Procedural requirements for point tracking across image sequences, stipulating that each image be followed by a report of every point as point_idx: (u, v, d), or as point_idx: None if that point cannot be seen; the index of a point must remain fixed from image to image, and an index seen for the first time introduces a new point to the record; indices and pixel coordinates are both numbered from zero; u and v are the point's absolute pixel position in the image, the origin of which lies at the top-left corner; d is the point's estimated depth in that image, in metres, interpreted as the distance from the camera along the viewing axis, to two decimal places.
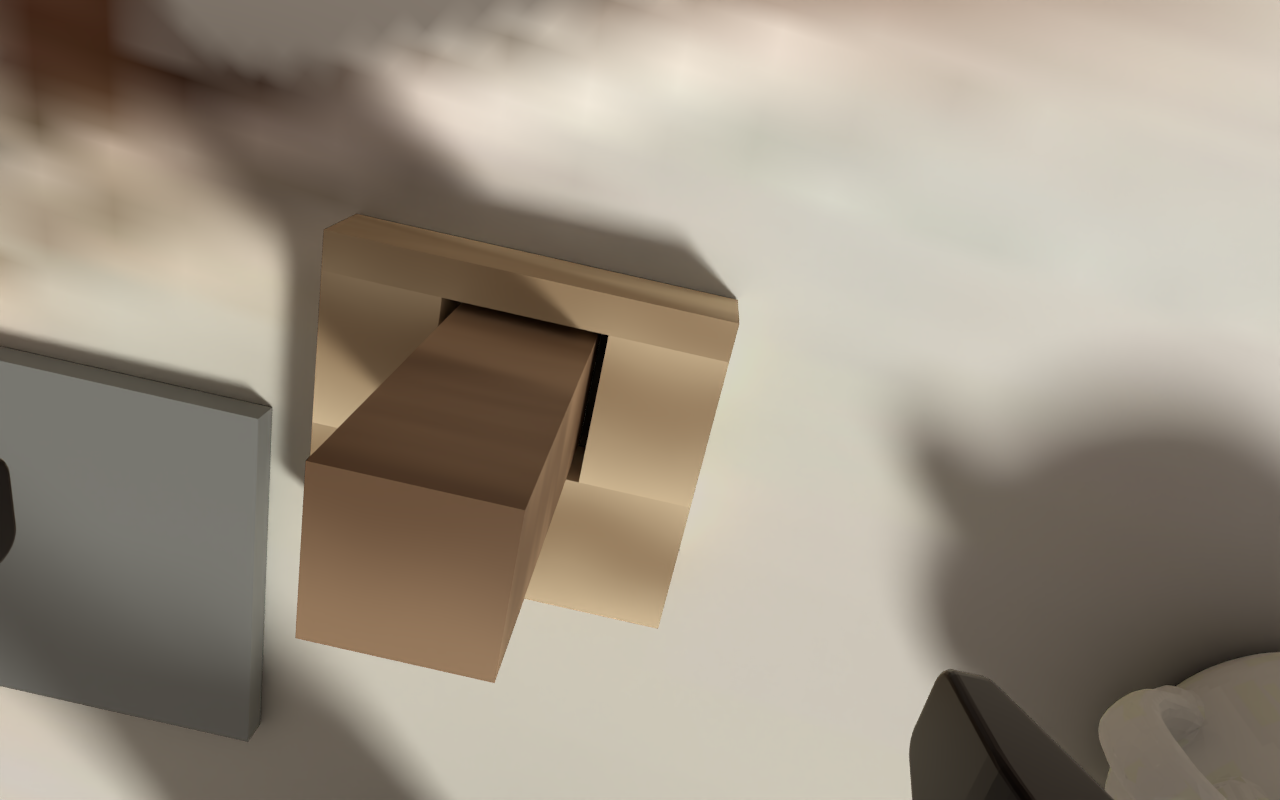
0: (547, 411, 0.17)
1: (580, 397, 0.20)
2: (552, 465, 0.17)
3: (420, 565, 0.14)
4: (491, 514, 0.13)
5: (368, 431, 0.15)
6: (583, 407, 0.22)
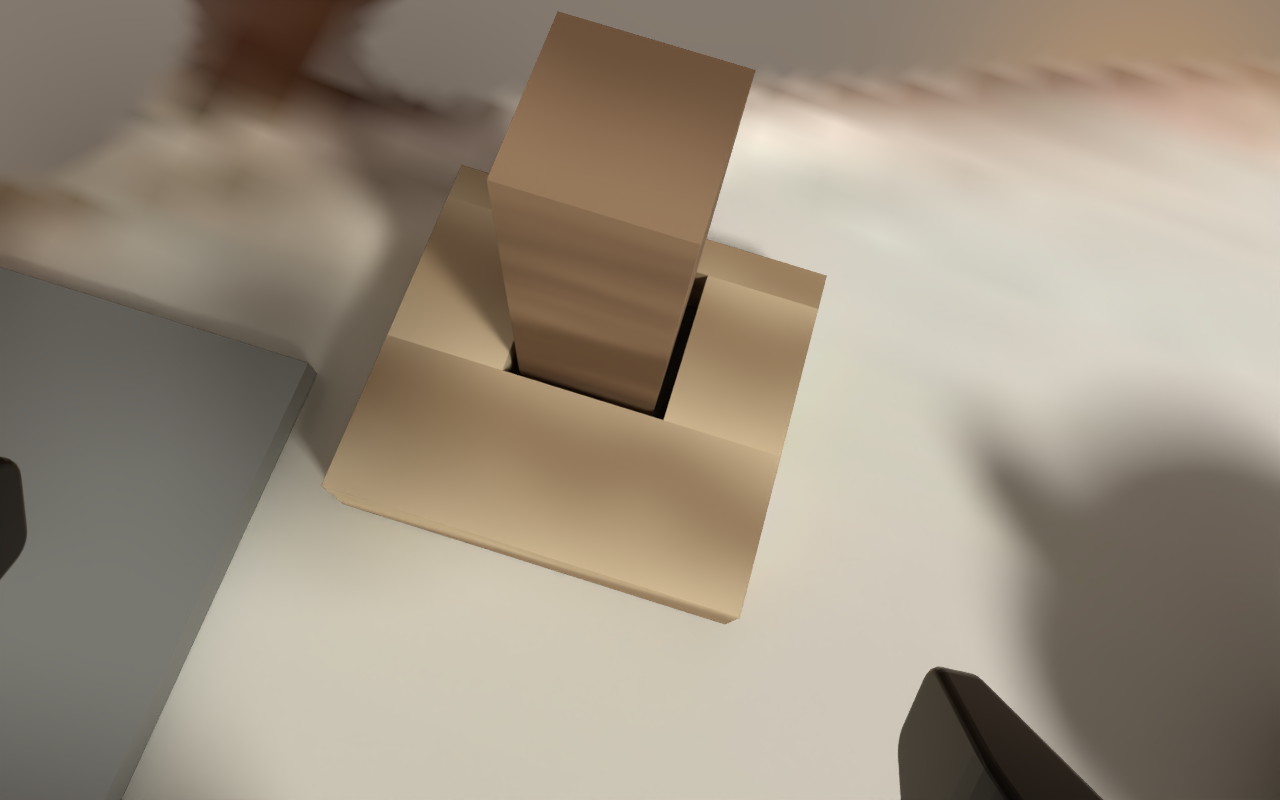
0: None
1: (687, 299, 0.21)
2: (714, 209, 0.17)
3: (644, 112, 0.14)
4: (723, 70, 0.14)
5: None
6: (669, 360, 0.22)
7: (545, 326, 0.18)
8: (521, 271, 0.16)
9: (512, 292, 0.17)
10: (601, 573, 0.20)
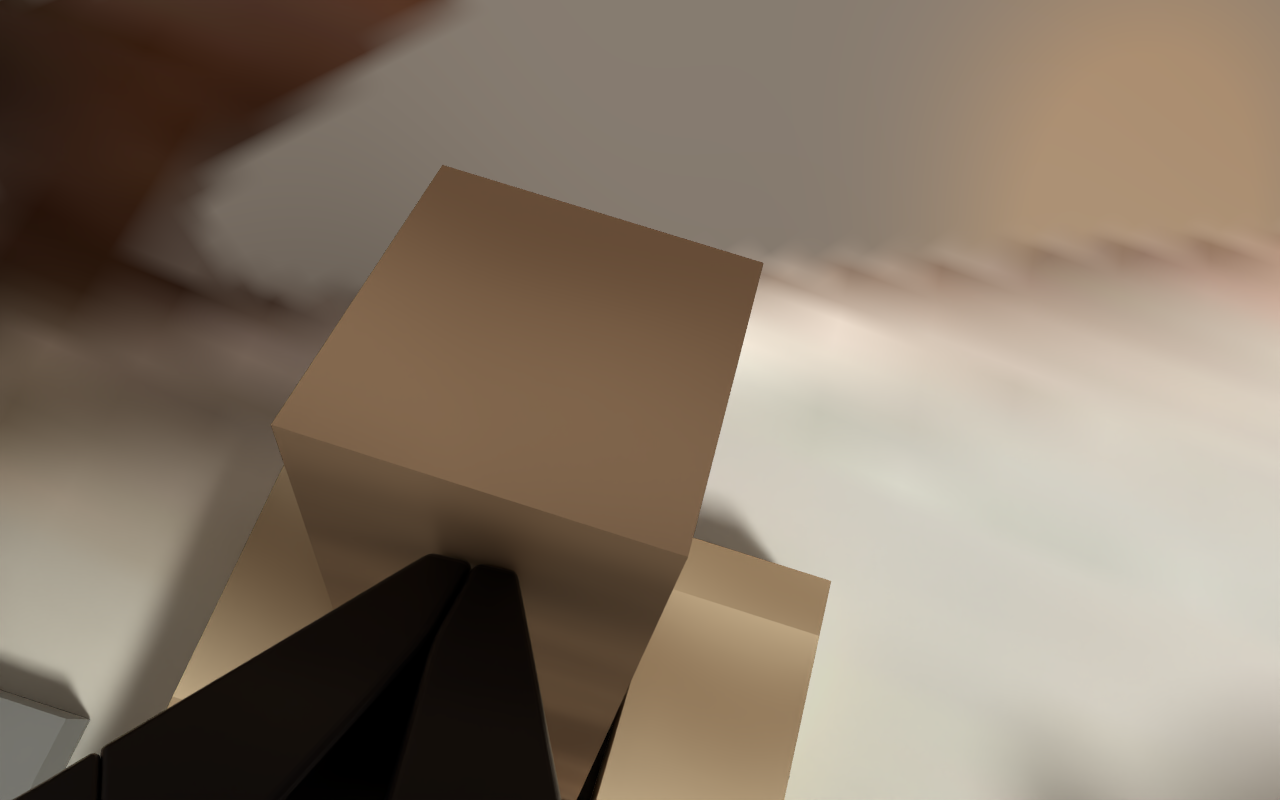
0: None
1: None
2: None
3: (582, 318, 0.08)
4: (712, 261, 0.09)
5: None
6: None
7: None
8: (356, 585, 0.09)
9: None
10: None
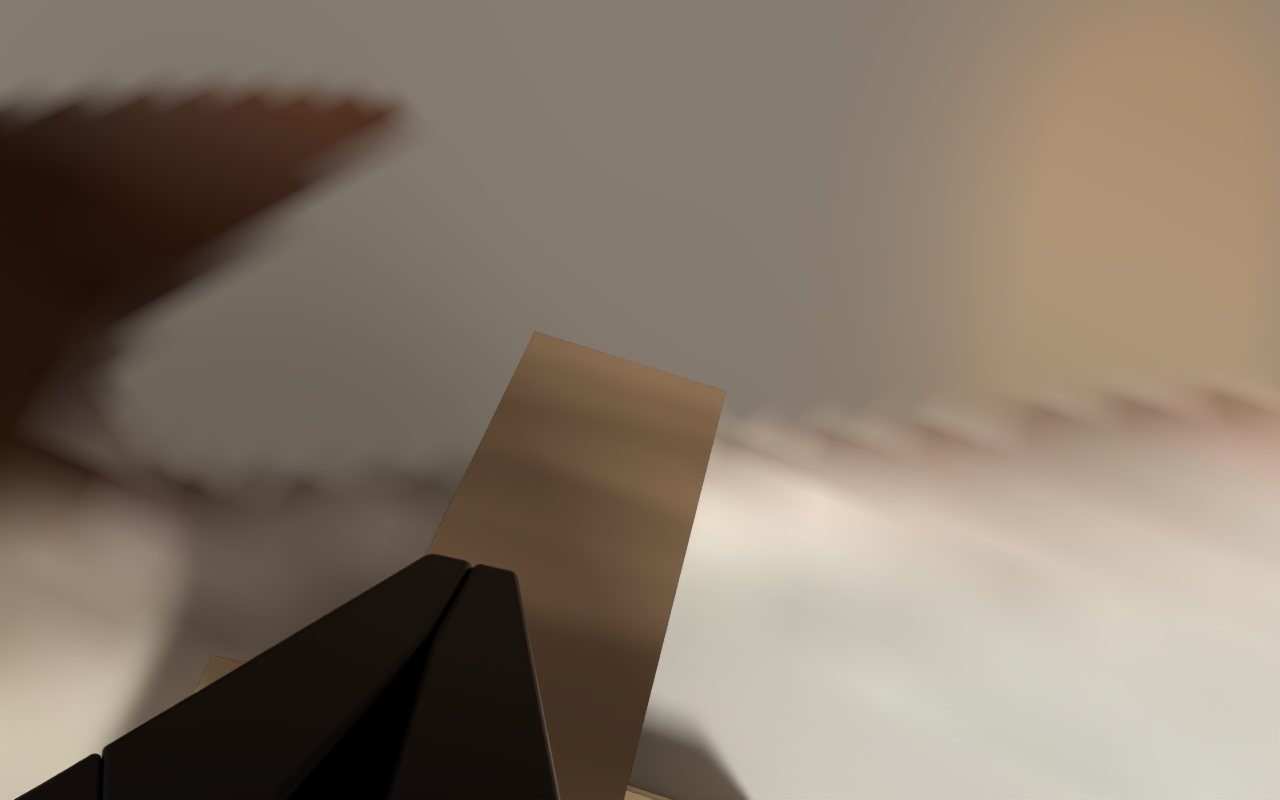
0: None
1: None
2: None
3: None
4: None
5: None
6: None
7: None
8: (498, 463, 0.13)
9: (457, 513, 0.12)
10: None
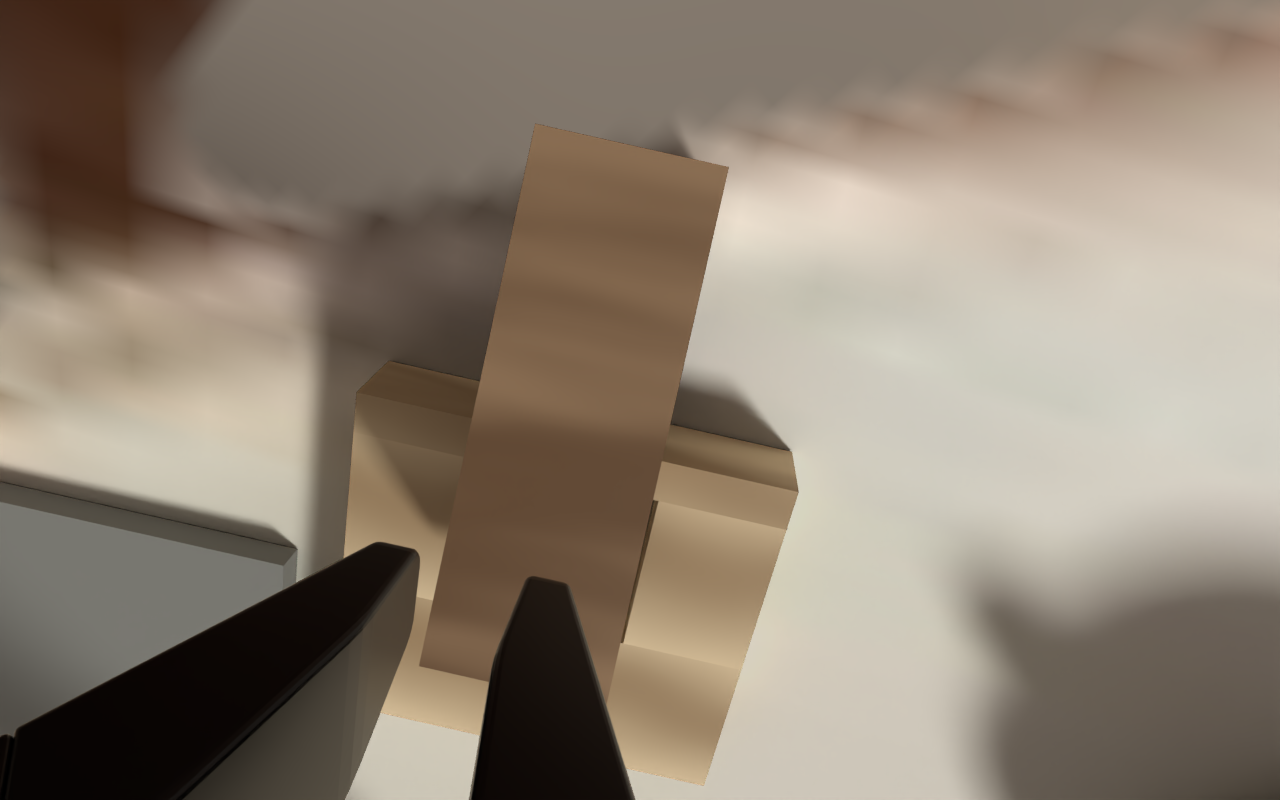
0: None
1: None
2: None
3: None
4: None
5: None
6: None
7: (517, 417, 0.15)
8: (522, 288, 0.15)
9: (496, 343, 0.15)
10: None
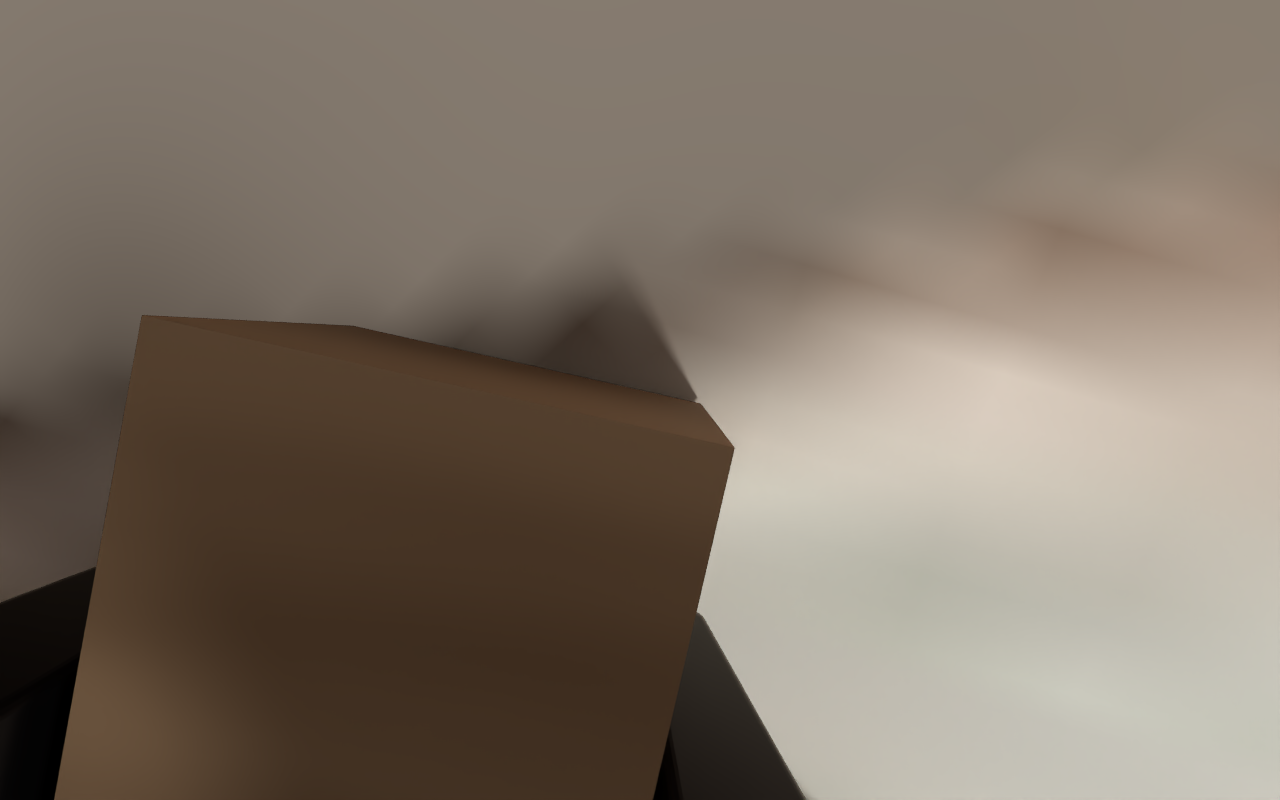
0: None
1: None
2: None
3: (529, 375, 0.07)
4: (650, 393, 0.08)
5: None
6: None
7: None
8: (122, 799, 0.05)
9: None
10: None
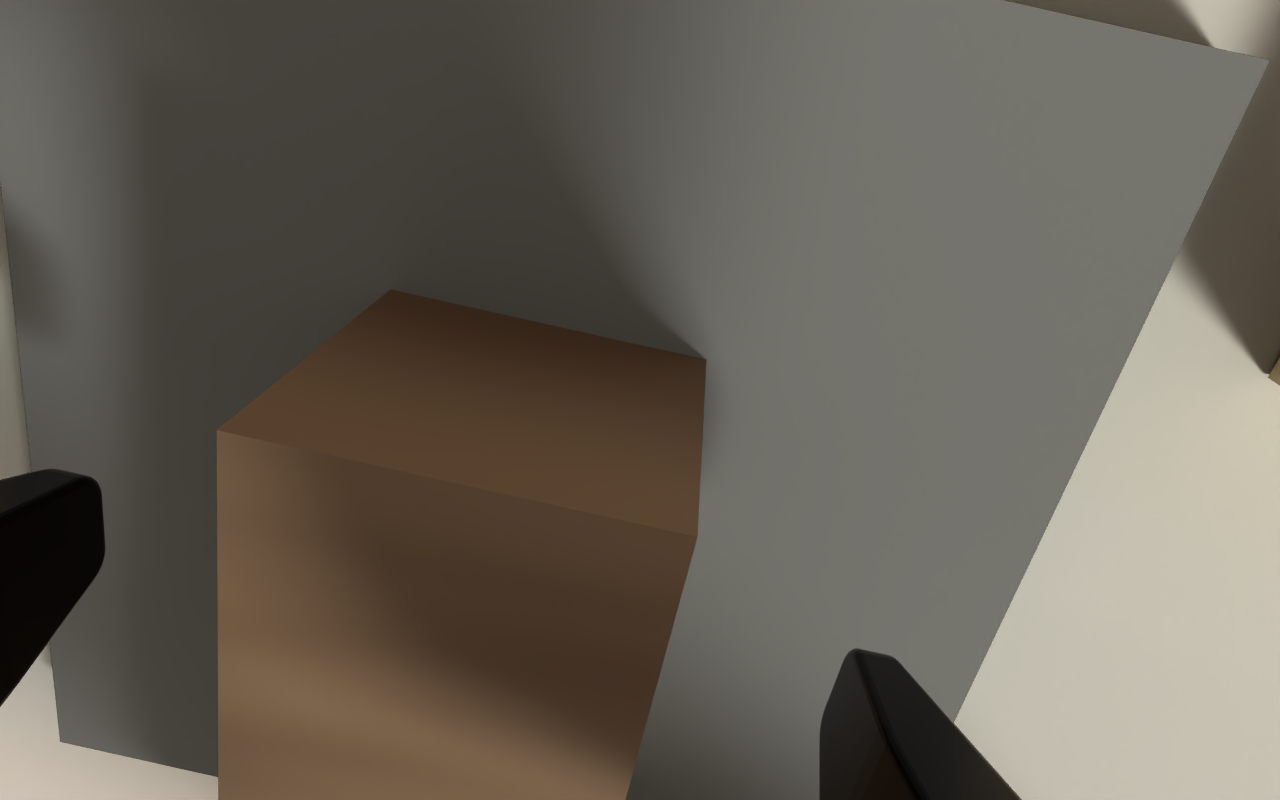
0: None
1: None
2: None
3: (544, 380, 0.08)
4: (659, 356, 0.09)
5: None
6: None
7: None
8: (264, 736, 0.07)
9: None
10: None
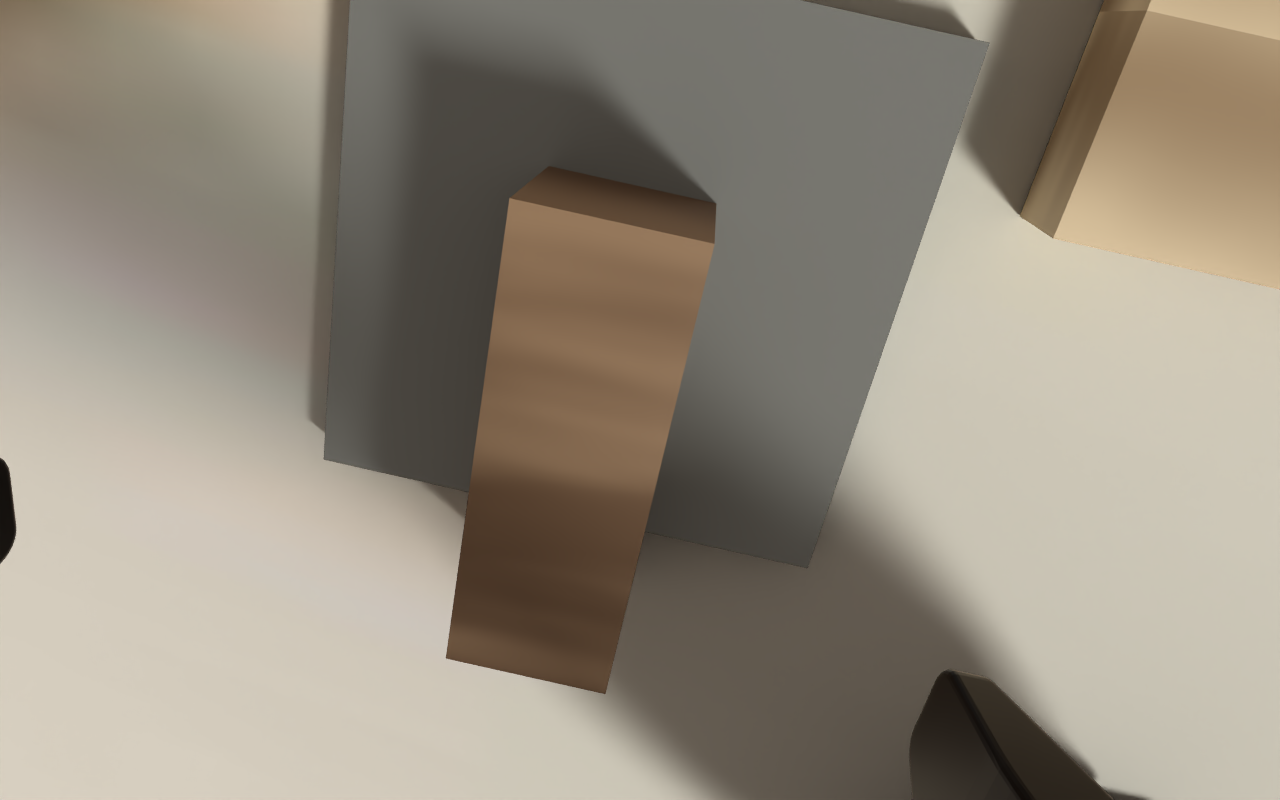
0: None
1: None
2: None
3: (636, 200, 0.16)
4: (691, 200, 0.17)
5: None
6: None
7: (513, 472, 0.16)
8: (509, 360, 0.16)
9: (488, 409, 0.16)
10: None
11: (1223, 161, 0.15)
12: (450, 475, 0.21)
